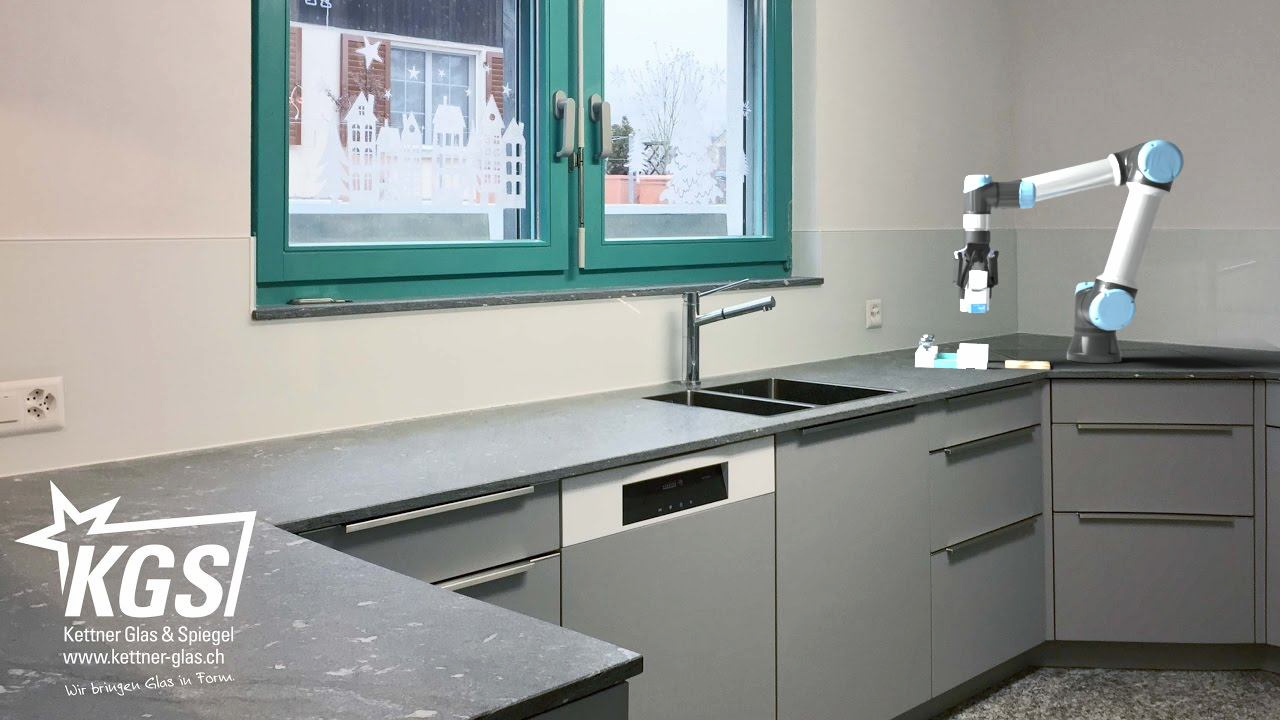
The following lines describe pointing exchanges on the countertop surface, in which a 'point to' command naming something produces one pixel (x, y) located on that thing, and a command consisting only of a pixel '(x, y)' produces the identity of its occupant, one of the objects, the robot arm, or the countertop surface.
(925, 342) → the plunger
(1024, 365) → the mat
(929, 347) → the plunger
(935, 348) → the housing
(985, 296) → the ink box
